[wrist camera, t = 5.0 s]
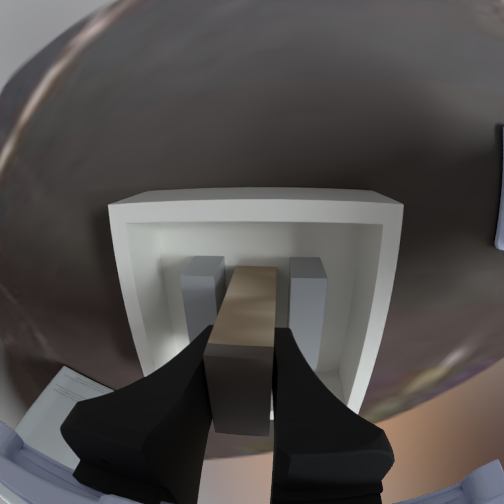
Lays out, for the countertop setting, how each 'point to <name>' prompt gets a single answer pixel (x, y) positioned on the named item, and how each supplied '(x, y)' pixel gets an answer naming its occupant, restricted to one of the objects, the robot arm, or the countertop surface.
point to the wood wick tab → (243, 353)
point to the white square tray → (262, 254)
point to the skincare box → (54, 419)
